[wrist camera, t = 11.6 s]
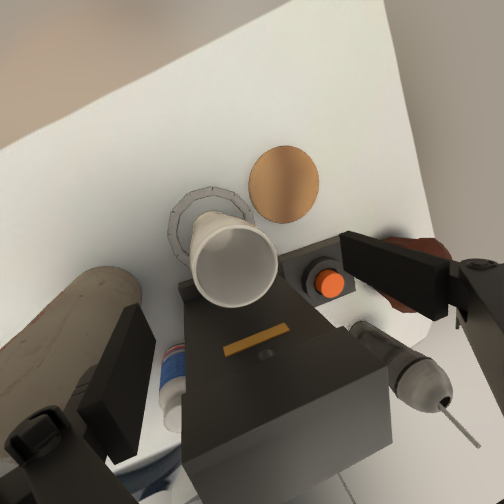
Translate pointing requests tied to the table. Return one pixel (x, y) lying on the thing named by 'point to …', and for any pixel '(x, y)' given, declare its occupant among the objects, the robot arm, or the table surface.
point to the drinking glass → (231, 260)
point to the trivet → (283, 184)
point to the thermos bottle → (60, 347)
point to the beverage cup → (410, 373)
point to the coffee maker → (272, 391)
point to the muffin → (422, 245)
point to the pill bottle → (172, 387)
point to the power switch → (314, 269)
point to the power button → (329, 283)
